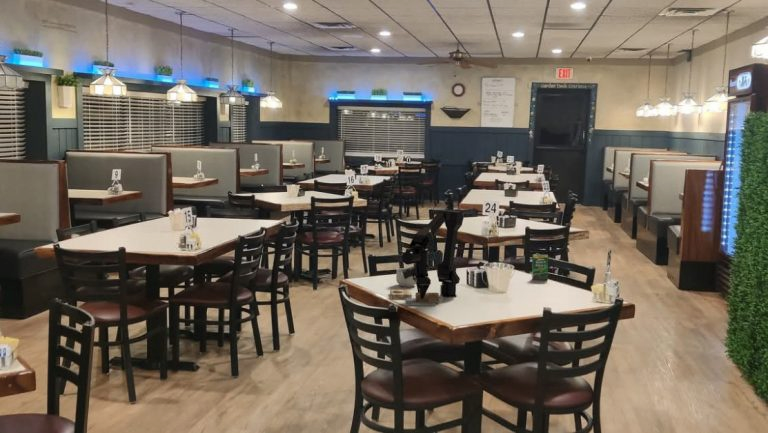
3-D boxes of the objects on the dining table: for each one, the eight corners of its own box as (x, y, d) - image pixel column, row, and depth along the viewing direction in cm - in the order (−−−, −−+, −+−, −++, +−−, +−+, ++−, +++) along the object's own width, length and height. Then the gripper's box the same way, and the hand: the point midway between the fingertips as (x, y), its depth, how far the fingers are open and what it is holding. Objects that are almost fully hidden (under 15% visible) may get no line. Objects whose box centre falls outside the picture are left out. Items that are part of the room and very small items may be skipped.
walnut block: (437, 292, 334) (415, 292, 333) (439, 294, 330) (416, 294, 329) (437, 300, 334) (415, 300, 333) (438, 302, 331) (416, 302, 330)
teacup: (402, 282, 375) (403, 266, 374) (422, 285, 369) (422, 269, 368) (388, 287, 363) (389, 271, 362) (408, 290, 357) (408, 273, 356)
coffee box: (532, 279, 387) (533, 255, 386) (531, 278, 390) (532, 254, 389) (547, 280, 387) (548, 255, 385) (546, 279, 390) (547, 254, 388)
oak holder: (409, 294, 349) (409, 289, 349) (411, 298, 339) (411, 294, 339) (390, 293, 349) (390, 289, 348) (391, 298, 339) (391, 294, 338)
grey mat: (432, 299, 338) (432, 298, 338) (435, 306, 326) (435, 304, 326) (405, 299, 337) (405, 298, 337) (408, 306, 325) (408, 304, 325)
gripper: (401, 257, 338) (400, 291, 340) (405, 265, 320) (404, 301, 321) (425, 258, 339) (424, 291, 341) (431, 265, 320) (430, 301, 322)
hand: (420, 296), depth 331 cm, fingers open, 9 cm apart
